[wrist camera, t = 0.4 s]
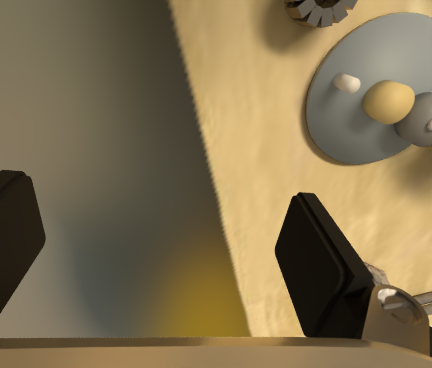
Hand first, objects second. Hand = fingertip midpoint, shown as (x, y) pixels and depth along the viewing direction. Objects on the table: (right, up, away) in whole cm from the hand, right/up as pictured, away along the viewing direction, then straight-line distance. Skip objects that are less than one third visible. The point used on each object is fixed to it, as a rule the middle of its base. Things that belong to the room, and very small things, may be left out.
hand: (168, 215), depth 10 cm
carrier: (+24, +13, +28) cm, 39 cm away
